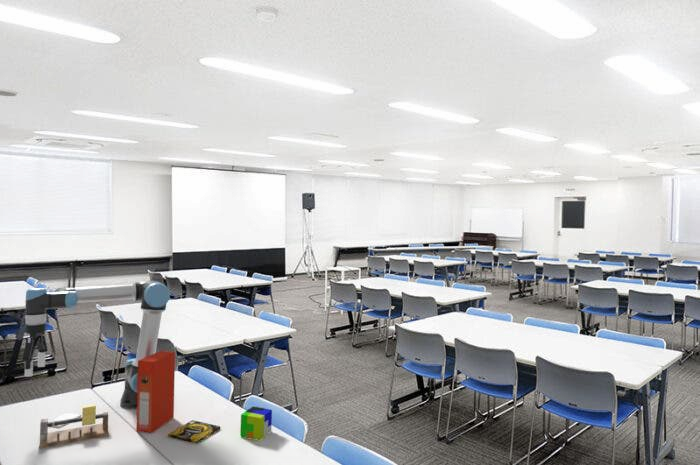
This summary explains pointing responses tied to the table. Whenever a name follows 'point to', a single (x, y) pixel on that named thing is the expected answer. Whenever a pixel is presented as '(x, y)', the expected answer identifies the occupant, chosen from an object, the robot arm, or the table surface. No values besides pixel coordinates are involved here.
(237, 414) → the table surface
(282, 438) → the table surface
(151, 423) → the file binder
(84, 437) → the comb stand
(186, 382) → the table surface
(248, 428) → the puzzle toy
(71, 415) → the external hard drive
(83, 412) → the sleeve
